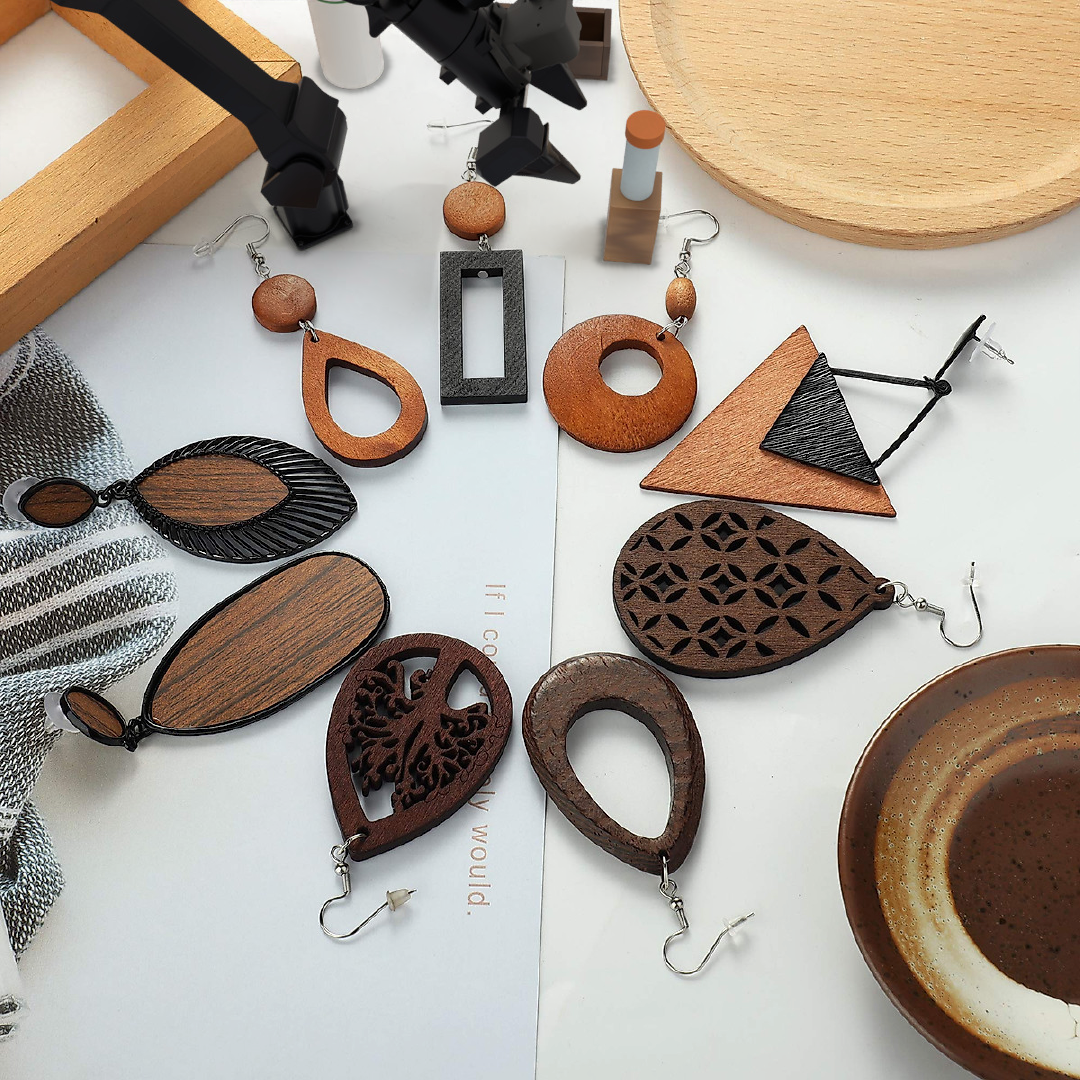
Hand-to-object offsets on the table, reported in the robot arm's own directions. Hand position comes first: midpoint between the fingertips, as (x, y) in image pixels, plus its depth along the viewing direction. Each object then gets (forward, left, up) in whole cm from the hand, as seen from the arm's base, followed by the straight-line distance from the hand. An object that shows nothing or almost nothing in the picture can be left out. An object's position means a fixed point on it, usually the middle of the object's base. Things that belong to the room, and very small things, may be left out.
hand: (580, 142), depth 91 cm
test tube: (+5, -3, -5) cm, 8 cm away
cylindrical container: (-8, +35, -13) cm, 38 cm away
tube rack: (+11, +25, -13) cm, 30 cm away
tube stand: (+5, -3, -13) cm, 14 cm away
